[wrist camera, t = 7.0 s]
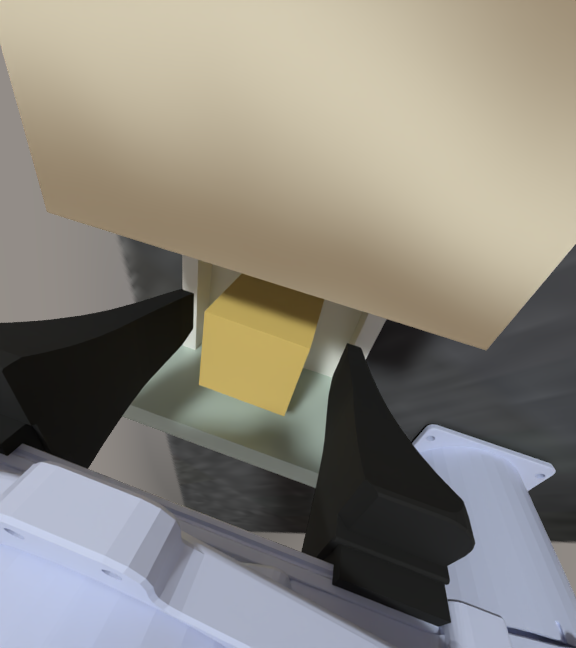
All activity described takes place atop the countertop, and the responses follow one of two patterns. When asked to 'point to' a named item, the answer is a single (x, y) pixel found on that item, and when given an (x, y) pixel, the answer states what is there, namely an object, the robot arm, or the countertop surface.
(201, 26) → the beige wooden rectangular box
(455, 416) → the countertop surface
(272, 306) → the block
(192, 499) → the countertop surface
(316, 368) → the pale green drawer
